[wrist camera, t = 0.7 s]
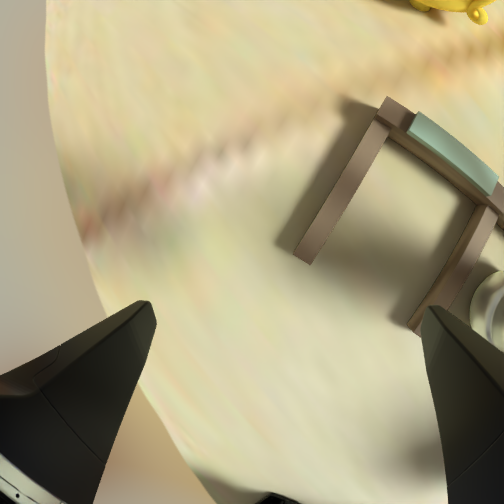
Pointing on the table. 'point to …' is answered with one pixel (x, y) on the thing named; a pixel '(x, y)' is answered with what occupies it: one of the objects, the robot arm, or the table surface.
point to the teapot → (457, 7)
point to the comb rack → (441, 160)
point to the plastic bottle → (489, 310)
